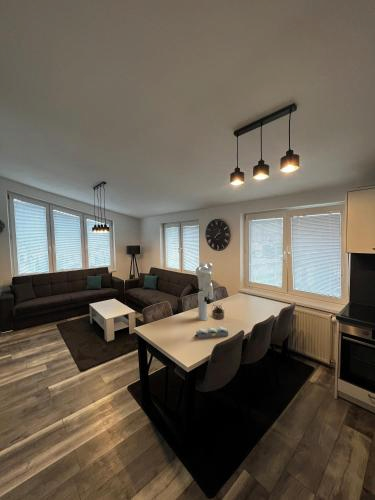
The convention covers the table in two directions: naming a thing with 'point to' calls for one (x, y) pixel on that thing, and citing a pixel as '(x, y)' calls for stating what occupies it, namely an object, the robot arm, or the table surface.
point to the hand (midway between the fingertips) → (206, 302)
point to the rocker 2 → (212, 329)
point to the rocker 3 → (222, 328)
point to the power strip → (211, 334)
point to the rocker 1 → (202, 330)
